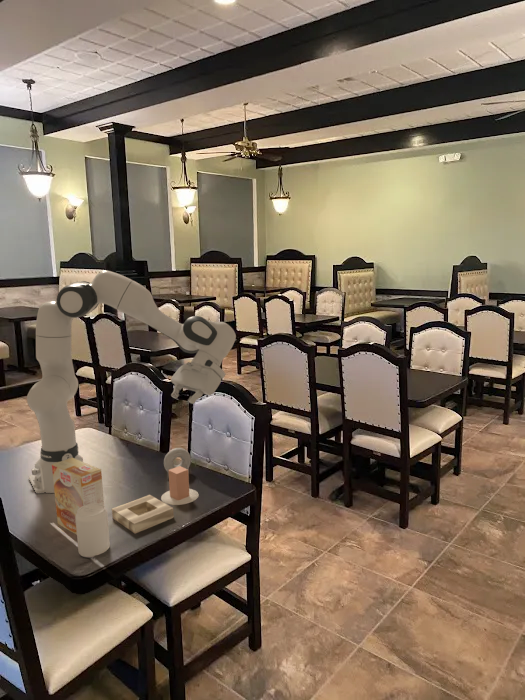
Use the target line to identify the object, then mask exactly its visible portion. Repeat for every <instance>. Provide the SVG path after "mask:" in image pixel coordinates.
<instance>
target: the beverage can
mask: <svg viewBox="0 0 525 700" xmlns="http://www.w3.org/2000/svg"><path fill="white" fill-rule="evenodd" d="M108 517H109V516H108V510H107V508H106V506H105V504H104V505H102V504H98V503H93V504H88V505H84V506H82V507H80V508H79V509H78V510H77V514H76V516H75V519H76V530H77V535H76V537H77V538H76V539H77V549H78V550H77V551H78V554H79V556H81V557H84V558H95V556H98V555H101V554H103V553H105V552H107V550H109V548H110V547H111V544H110V543H111V542H110V541H111V539H110V531H109V530H110V529H109V518H108Z"/></svg>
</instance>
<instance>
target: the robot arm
mask: <svg viewBox="0 0 525 700" xmlns="http://www.w3.org/2000/svg"><path fill="white" fill-rule="evenodd" d="M56 295H57V296H56V300H51V301H45V302H44V303H42V304H40V306H39V308H38V310H37V315H36V321H35V359H36V360H37V361H38V363H39V365H40V370H41V373H42V374H41V375H42V377H41V379H40V380H38V381H37V382H35V383H34V385H32V387H31V388H30V389H29V391H28V393H27V396H26V401H27V402H26V403H27V405H28V407H29V408H30V410H31V411H32V412H34V415H35V417H36V419H37V422H38V426H39V431H40V432H39V434H40V441H41V446H40V456H39V457H40V458H39V459H38V460H37V461H36V462H35V463H34V468H32V469H31V475H29V476H28V480H29V479H30V481H29V483H30V482H31V483H30V485H31V484H32V485H31V487H32V486H33V487H32V489H33V488H34V489H33V491H34V490H35V491H34V493H35V492H36V493H35V494H46V493H47V494H55V492H54V482H53V471H52V464H54V463H57V462H61V461H64V460H67V459H70V458H75V459H77V460H79V461H82V462H84V460H83V459H84V458H83V456H82V455H80V454H79V446H78V442H77V437H76V426H75V421H74V420H73V419H72V417H71V414H70V412H69V409H68V402H69V401H70V400H72V399H73V398H74V397H75V395H76V394H77V391H78V388H79V380H78V378H77V377H76V375H75V368H74V364H73V358H72V354H73V352H72V324H73V321H74V318H76V319H77V318H81V317H84V316H87V315H89V314H91V313H92V312H93V311H95V310H96V309H97V308H98V307H99V304H103V305H107V306H109V307H111V308H113V309H115V310H117V311H119V312H121V313H123V314H125V315H127V316H129V317H131V318H133V319H136V320H138V321H140V322H142V323H143V324H144V325H147V326H148V327H150V328H152V329H154V330H156V331H157V332H159V333H160V334H162V335H164V336H166V337H167V338H169V339H171V341H173V342H174V343H175V344H176V345H177V347H178V348H179V349H180V350H182V351H183V352H184V353H186V354H195V355H194V356H193V359H191V361H189V362H186V363H184V364H182V365H181V366H179V368H178V369H177V370H176V371H175V373H173V375H172V377H171V378H170V382H171V383H172V384H173V385H174V386H173V391H172V393H171V394H170V396H171V397H172V398H173V399H178V397H180V394H179V393H180V391H181V390H182V389H185V390H188V391H192V392H195V393H193V395H190V396H189V398H188V399H187V402H189V404H192V405H193V404H195V403H196V401H197V400H199V399H200V398H201V397H202V396H203V395H205V396H207V395H208V396H212V395H213V394H214V393H215V392H216V390H217V389H218V387H219V386H220V384H221V382H222V379H224V378H225V377H226V374H227V373H225V371H224V370H223V369H222V368H221V365H222V362H223V360H224V359H225V358H226V357H227V356H228V354H229V353H230V351H231V350H232V348H233V346H234V343H235V342H236V337H237V335H236V332H235V330H234V328H233V327H232V326H231V325H230V324H228V323H226V322H224V321H219V322H218V321H212V320H209V319H205V318H204V317H202V316H200V315H193V316H190V317H188V318H187V319H185V321H184V322H183V323H181V322H178V321H177V320H176V319H174V318H173V317H170V316H169V315H167V314H166V313H164V312H163V311H162V310H161V309H159V307H158V306H157V304H156V303H155V300H154V297H153V295H152V292H150V290H148V289H147V288H146V287H145V286H143V285H142V284H141V283H138V282H137V281H135V280H133V279H131V278H129V277H126V275H125V276H124V274H120V273H117V272H114V271H111V270H105V269H104V270H101V271H100V272H98V273H97V274H96V275H95V276H94V278H93V279H92V281H91V282H90V281H83V280H82V281H75V282H74V281H73V282H71V283H69V284H67V285H65V286H63V288H61V289H60V290H59V292H58V294H56ZM44 492H46V493H44Z"/></svg>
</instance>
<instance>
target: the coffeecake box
mask: <svg viewBox="0 0 525 700" xmlns="http://www.w3.org/2000/svg"><path fill="white" fill-rule="evenodd" d="M52 471H53V482H54V492H55V493H54V499H55V500H54V501H55V502H54V503H55V511H56V520H57V527H58V528H59V527H62V528H64V529H65V530H67V531H69V532H71V533H73V534H74V535H76V536H77V530H76V519H75V516H76V514H77V510H78V509H79V508H80V507H82V506H84V505H88V504H93V503H98V504H102V505H104V506H105V500H104V488H103V487H104V486H103V474H102V469H101V468H99V467H96V466H94V465H91V464H88V463H86V462H84V461H83V462H82V461H79V460H77V459H75V458H70V459H67V460H64V461H61V462H57V463H54V464H52Z"/></svg>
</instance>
